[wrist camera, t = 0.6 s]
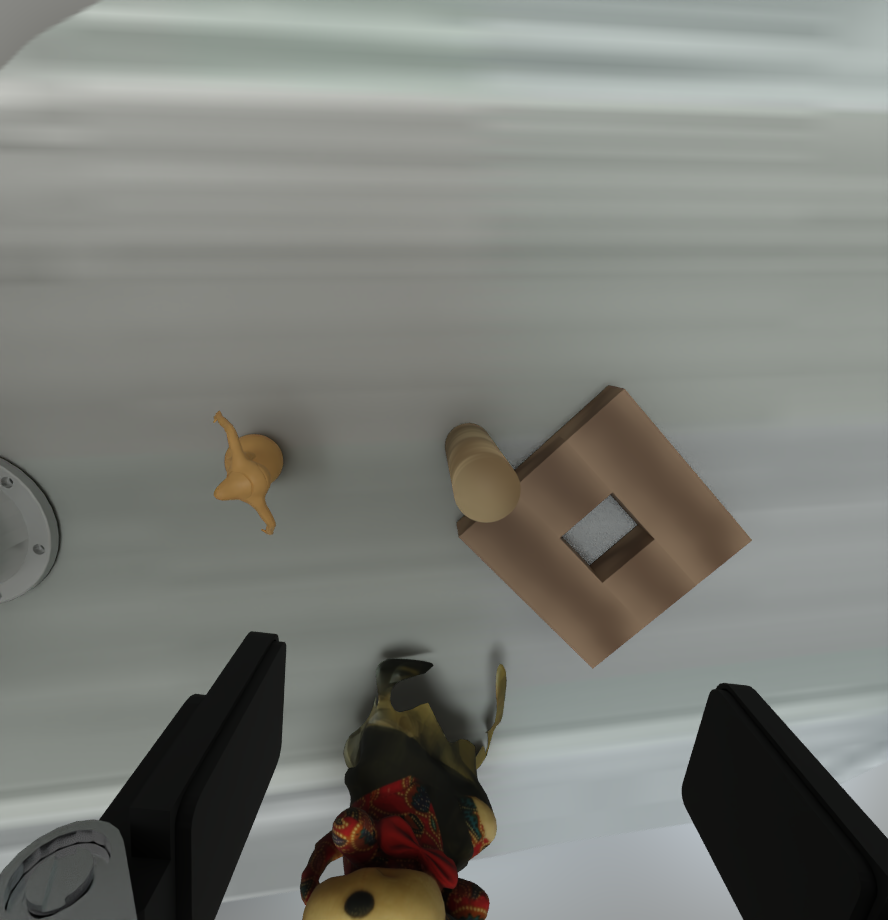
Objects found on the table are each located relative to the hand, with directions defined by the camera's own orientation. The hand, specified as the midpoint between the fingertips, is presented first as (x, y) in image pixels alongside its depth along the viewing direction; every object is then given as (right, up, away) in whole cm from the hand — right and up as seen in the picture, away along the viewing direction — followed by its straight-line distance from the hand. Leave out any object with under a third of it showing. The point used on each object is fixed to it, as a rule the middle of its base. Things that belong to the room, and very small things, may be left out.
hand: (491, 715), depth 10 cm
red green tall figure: (-3, -17, +33) cm, 37 cm away
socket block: (+11, 0, +29) cm, 31 cm away
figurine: (-14, +6, +27) cm, 31 cm away
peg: (+1, +7, +27) cm, 28 cm away
